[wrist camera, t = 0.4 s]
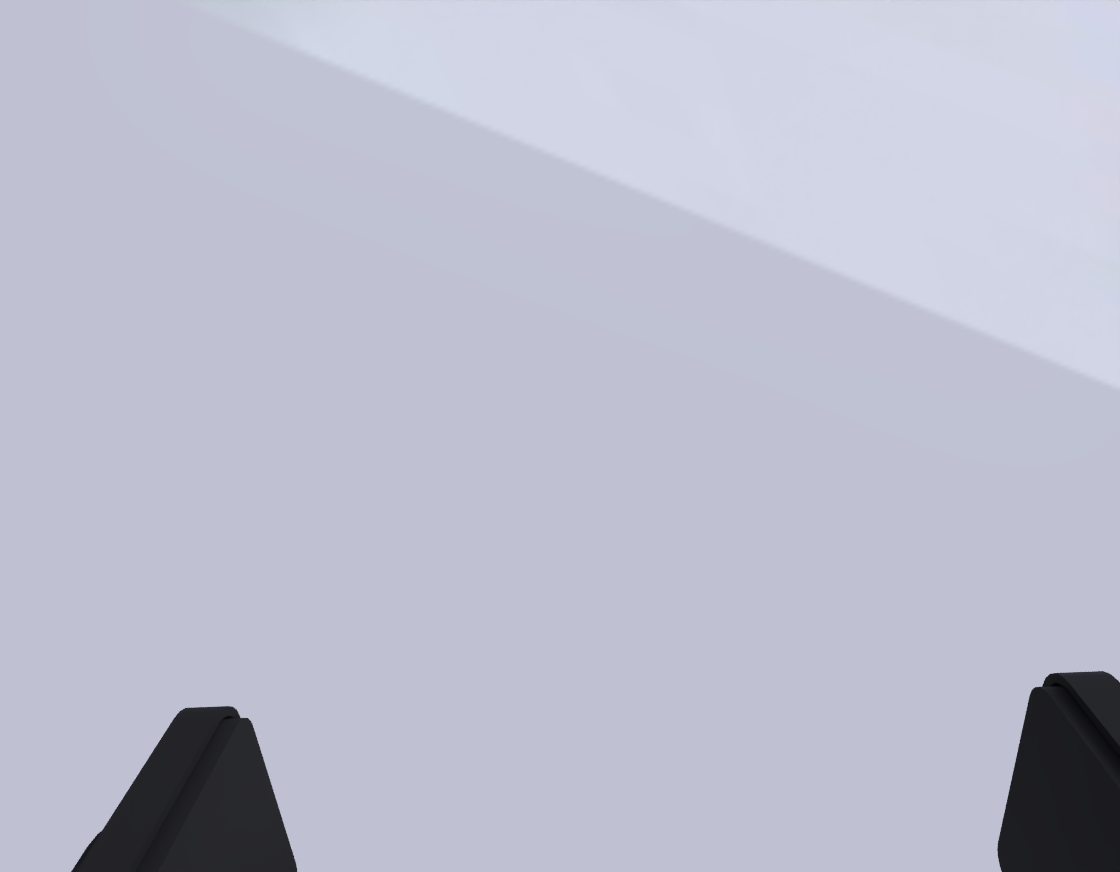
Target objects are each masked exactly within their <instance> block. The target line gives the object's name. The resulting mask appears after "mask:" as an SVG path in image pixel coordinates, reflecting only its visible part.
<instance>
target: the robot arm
mask: <svg viewBox="0 0 1120 872" xmlns="http://www.w3.org/2000/svg"><path fill="white" fill-rule="evenodd" d="M998 858H999V863H1000V867H1001V871H1002V872H1120V682H1119V681H1118V680H1117V679H1115V678H1114V677H1113V676H1112V675H1111V674H1109V673H1106V672H1103V671H1098V672H1073V673H1054V674H1050V675H1048V677H1046V679H1045V681H1044V684H1043V686H1042V687H1035V688H1034V689H1033V690H1032V691H1031V694H1030V697H1029V702H1028V707H1027V711H1026V716H1025V720H1024V725H1023V729H1022V734H1021V739H1020V744H1019V748H1018V753H1017V758H1016V762H1015V767H1014V771H1013V776H1012V781H1011V785H1010V790H1009V795H1008V799H1007V804H1006V809H1005V813H1004V818H1003V822H1002V827H1001V832H1000V837H999V841H998ZM72 872H297V867H296V862H295V859H294V856H293V852H292V849H291V847H290V843H289V840H288V837H287V833H286V830H285V827H284V824H283V821H282V817H281V814H280V811H279V808H278V805H277V801H276V798H275V795H274V792H273V789H272V785H271V782H270V779H269V776H268V773H267V769H266V766H265V763H264V760H263V757H262V754H261V750H260V747H259V744H258V741H257V737H256V734H255V731H254V728H253V725H252V723H251V721H250V720H249V719H248V718H240V716H239V714H238V712H237V710H236V709H235V708H233V707H229V706H225V707H199V708H185V709H183V710H181V711H180V712H179V713H178V714H177V716H176V717H175V718H174V720H173V721H172V723H171V724H170V726H169V728H168V729H167V731H166V732H165V734H164V735H163V737H162V738H161V740H160V741H159V743H158V745H157V746H156V748H155V749H154V751H153V752H152V754H151V756H150V757H149V759H148V760H147V762H146V763H145V765H144V766H143V768H142V769H141V771H140V773H139V774H138V776H137V777H136V779H135V781H134V782H133V784H132V785H131V787H130V788H129V790H128V791H127V793H126V794H125V796H124V798H123V799H122V801H121V803H120V804H119V805H118V807H117V809H116V810H115V812H114V813H113V815H112V816H111V818H110V819H109V821H108V823H107V824H106V826H105V827H104V829H103V830H102V831H101V832H100V833H99V834H97V836H96V837H95V839H93V841H92V842H91V843H90V844H89V846H88V847H87V848H86V850H85V851H84V853H83V855H82V856H81V858H80V859H79V861H78V862H77V864H76V865H75V867H74V869H73V870H72Z"/></svg>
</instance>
